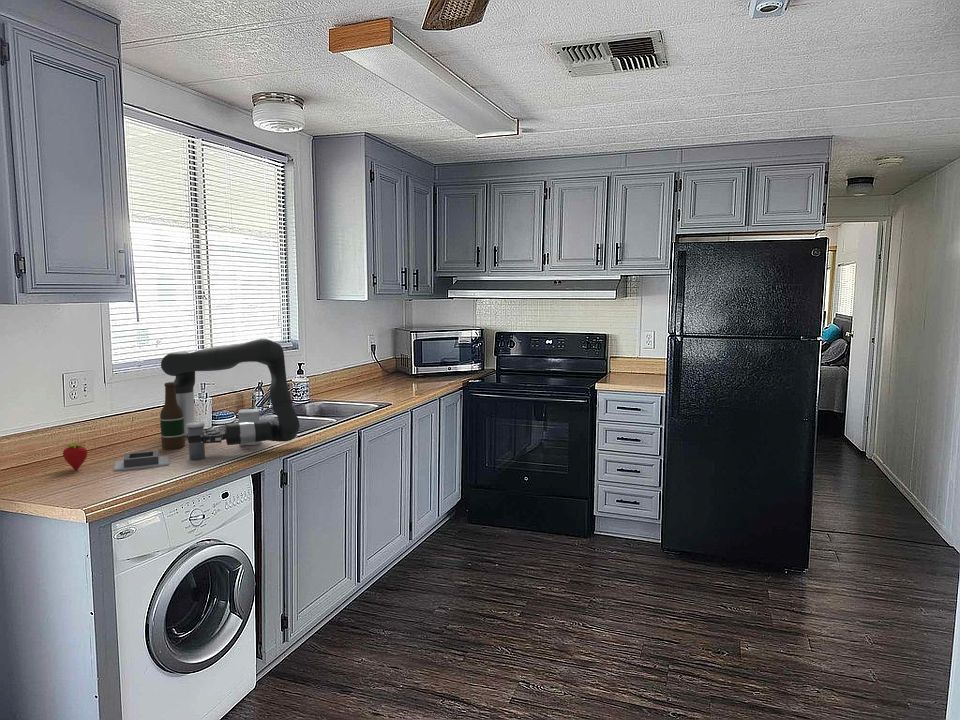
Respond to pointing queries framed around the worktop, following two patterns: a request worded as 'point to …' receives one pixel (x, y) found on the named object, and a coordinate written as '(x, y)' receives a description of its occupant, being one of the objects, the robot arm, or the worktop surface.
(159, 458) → the grey recessed tray
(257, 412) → the supplement box
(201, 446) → the gray flanged cylinder
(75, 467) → the strawberry
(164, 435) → the beer bottle
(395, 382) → the worktop surface
